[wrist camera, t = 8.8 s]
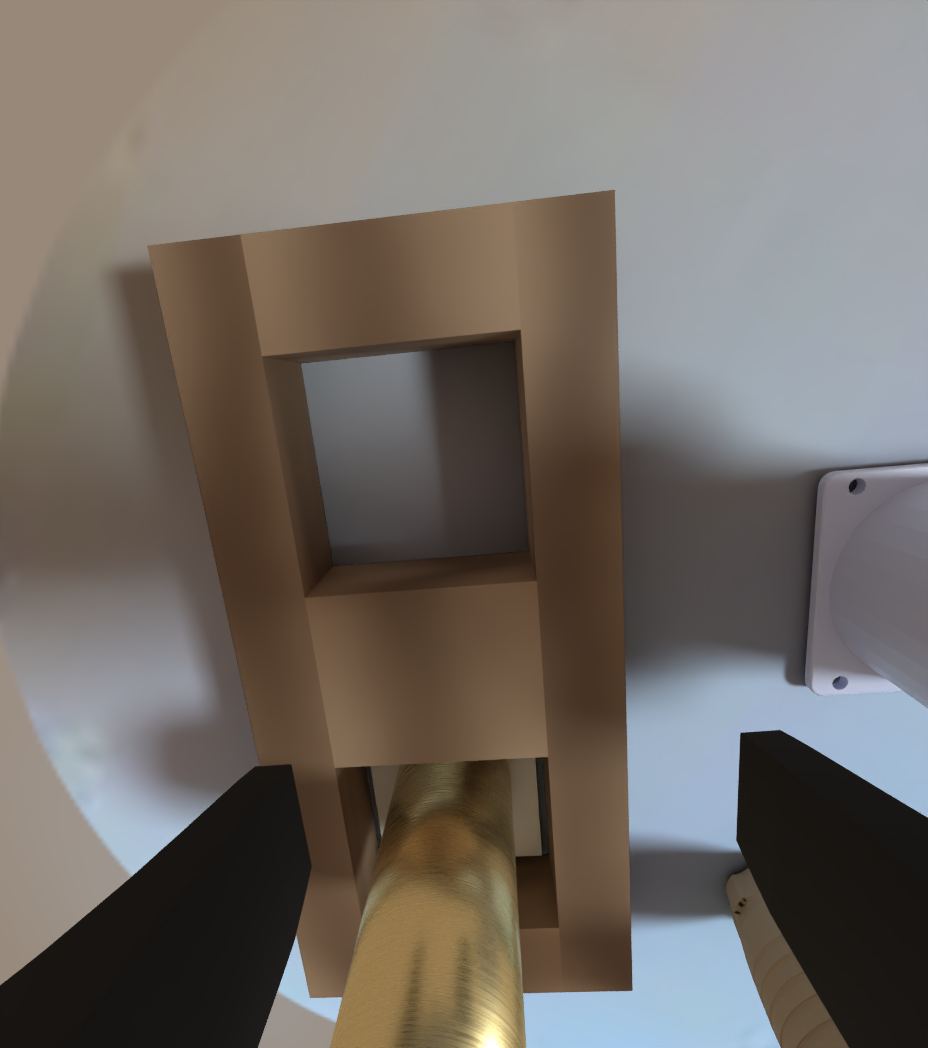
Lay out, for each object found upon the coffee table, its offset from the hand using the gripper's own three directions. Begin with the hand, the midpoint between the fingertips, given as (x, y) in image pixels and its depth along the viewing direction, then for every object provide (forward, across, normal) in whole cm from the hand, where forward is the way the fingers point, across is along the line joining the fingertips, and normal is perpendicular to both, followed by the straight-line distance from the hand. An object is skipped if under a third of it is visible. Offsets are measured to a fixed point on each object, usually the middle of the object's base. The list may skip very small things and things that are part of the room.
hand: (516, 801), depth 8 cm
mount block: (+10, +2, +2) cm, 11 cm away
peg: (+10, +2, +8) cm, 13 cm away
